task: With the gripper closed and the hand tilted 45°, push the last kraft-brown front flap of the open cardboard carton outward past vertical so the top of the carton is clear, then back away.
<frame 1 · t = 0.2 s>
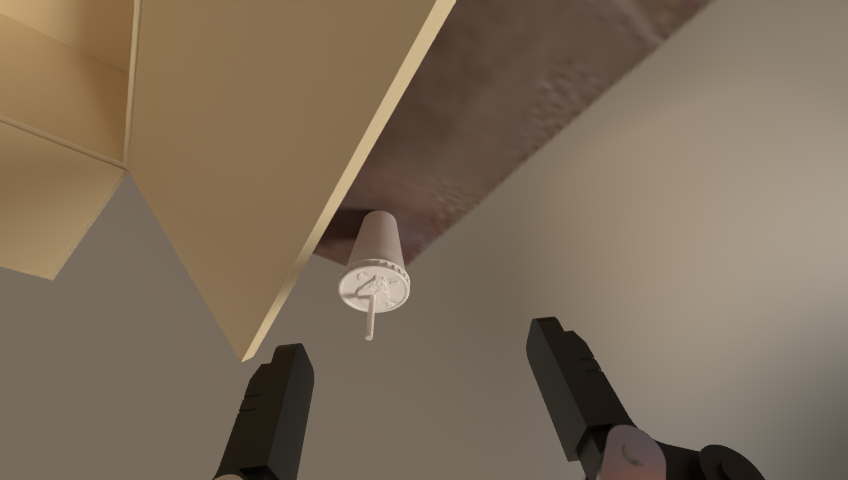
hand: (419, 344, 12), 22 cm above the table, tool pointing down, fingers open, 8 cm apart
smoothie: (379, 222, 37), on the table
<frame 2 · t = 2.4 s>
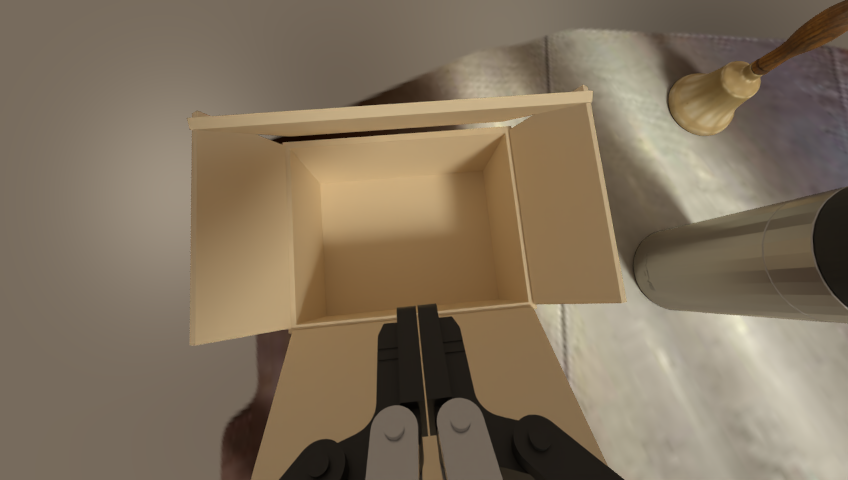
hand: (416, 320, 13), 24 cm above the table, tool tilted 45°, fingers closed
front flap: (397, 119, 22), point 17 cm above the table, hinge at 65.0°
hand bell: (698, 106, 42), on the table
carton: (408, 241, 38), on the table
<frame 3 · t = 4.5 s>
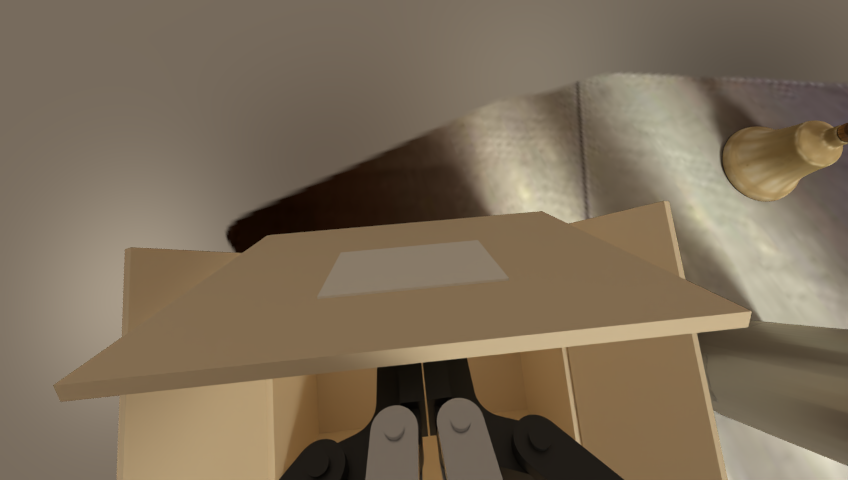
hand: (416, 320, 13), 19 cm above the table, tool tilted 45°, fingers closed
front flap: (411, 261, 15), point 17 cm above the table, hinge at 65.0°, touching gripper
hand bell: (757, 164, 35), on the table
carton: (417, 335, 31), on the table
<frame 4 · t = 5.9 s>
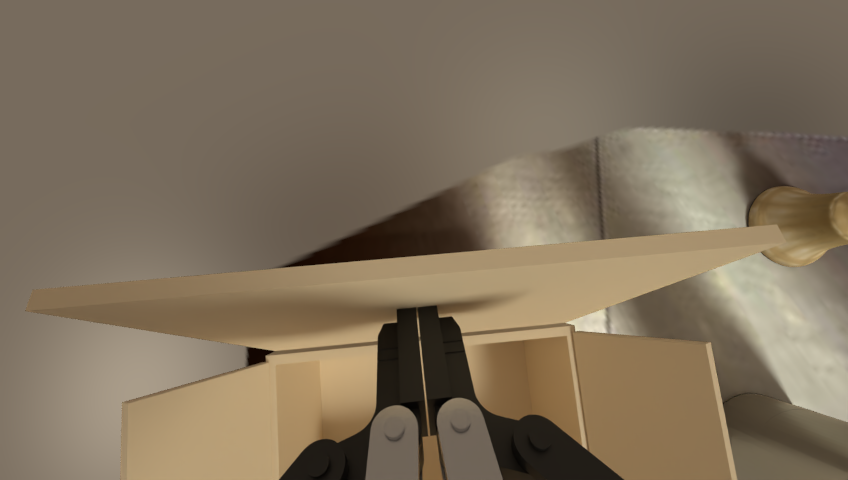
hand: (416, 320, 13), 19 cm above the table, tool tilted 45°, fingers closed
front flap: (422, 312, 15), point 17 cm above the table, hinge at 104.9°, touching gripper
hand bell: (784, 226, 34), on the table
carton: (427, 411, 30), on the table
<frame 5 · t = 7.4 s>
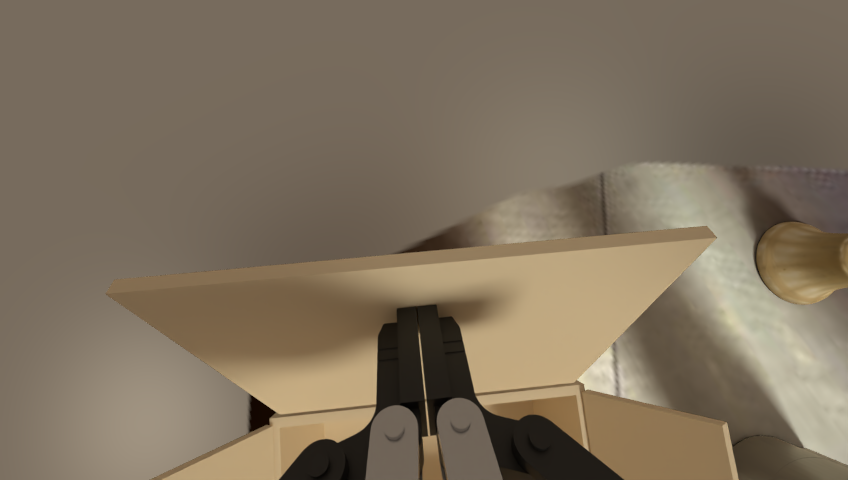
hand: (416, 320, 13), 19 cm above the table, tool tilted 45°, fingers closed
front flap: (426, 348, 15), point 16 cm above the table, hinge at 122.9°, touching gripper
hand bell: (792, 262, 33), on the table
carton: (433, 455, 30), on the table
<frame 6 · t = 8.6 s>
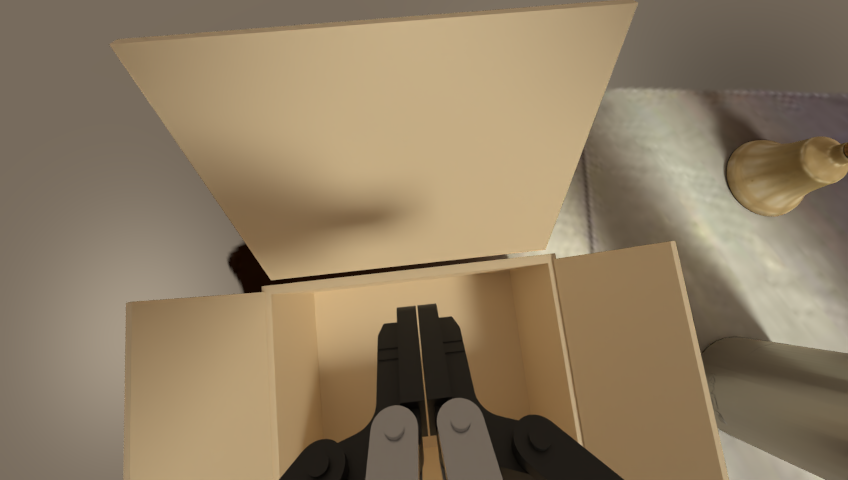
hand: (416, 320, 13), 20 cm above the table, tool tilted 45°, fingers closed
front flap: (400, 178, 17), point 16 cm above the table, hinge at 123.0°
hand bell: (761, 178, 35), on the table
carton: (421, 360, 31), on the table
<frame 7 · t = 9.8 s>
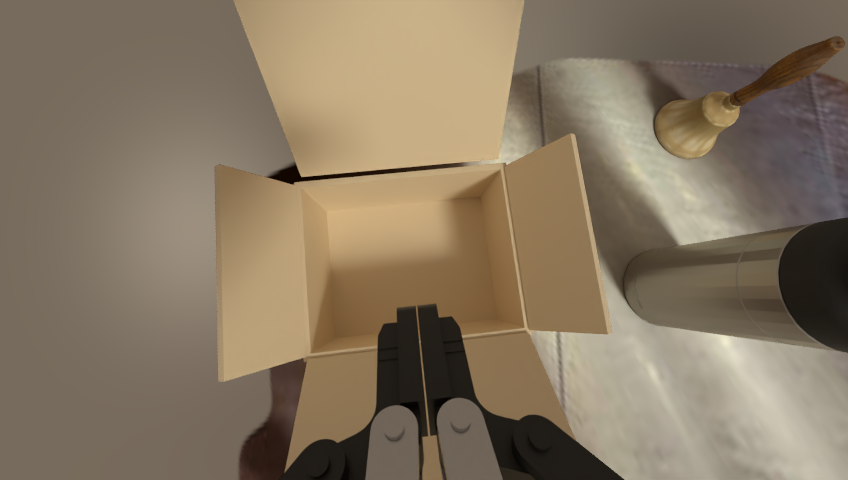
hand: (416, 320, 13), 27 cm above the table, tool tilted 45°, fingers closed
front flap: (393, 91, 26), point 16 cm above the table, hinge at 123.0°
hand bell: (683, 130, 44), on the table
carton: (410, 264, 40), on the table
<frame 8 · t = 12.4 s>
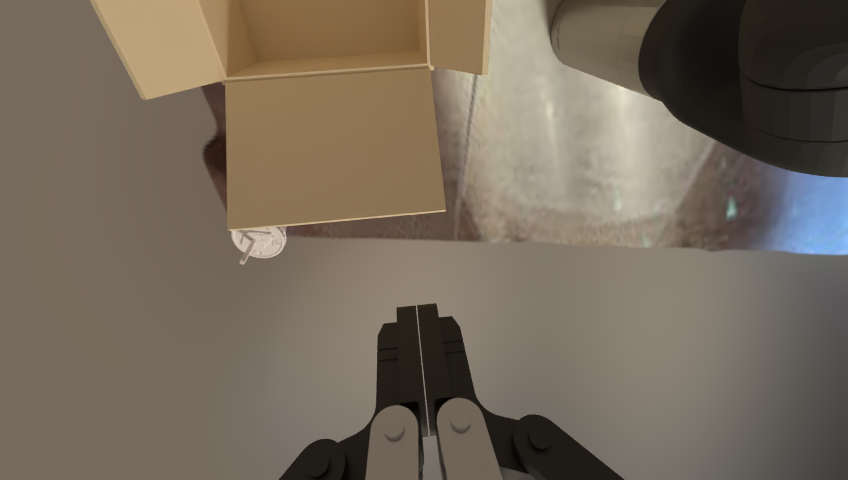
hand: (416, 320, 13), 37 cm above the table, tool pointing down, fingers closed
smoothie: (278, 200, 50), on the table
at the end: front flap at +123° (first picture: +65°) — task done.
